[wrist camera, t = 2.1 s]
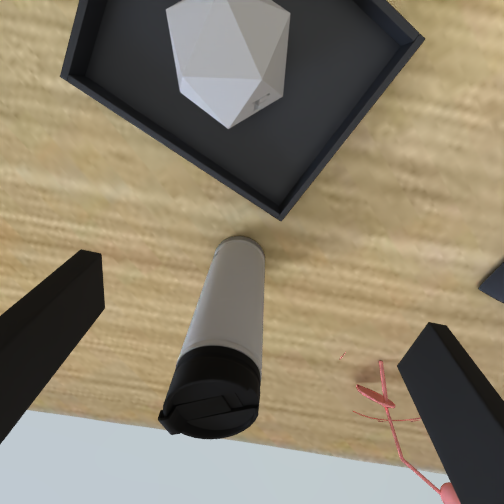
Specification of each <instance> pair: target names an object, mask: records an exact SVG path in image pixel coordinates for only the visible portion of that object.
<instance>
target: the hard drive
mask: <svg viewBox="0 0 504 504" xmlns="http://www.w3.org/2000/svg"><path fill="white" fill-rule="evenodd" d="M479 290H481V291H482V292H484V293H486V294H487V295H489V296H491V297H493V298H495V299H496V300H498V301H500V302H502V303H504V262H503V263H502V264H501V265H500V266H499V267H498V268H497V269H496V270H495V271H494V272H493V273H492V274H491V275H490V276H489V277H488V278H487V279H486V280H485V281H484V282H483V283H482V284H481V285H480V287H479Z"/></svg>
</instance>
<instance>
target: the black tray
mask: <svg viewBox="0 0 504 504" xmlns="http://www.w3.org/2000/svg"><path fill="white" fill-rule="evenodd" d="M180 1H182V0H79V4H78V8H77V12H76V16H75V20H74V24H73V28H72V32H71V35H70V39H69V43H68V47H67V51H66V55H65V59H64V63H63V67H62V71H61V75H60V77H61V78H63V79H64V80H66V81H68V82H69V83H70V84H72V85H74V86H75V87H77V88H78V89H80V90H81V91H83V92H84V93H86V94H87V95H89V96H90V97H92V98H93V99H95V100H96V101H98V102H99V103H101V104H103V105H104V106H106V107H107V108H109V109H110V110H112V111H113V112H115V113H116V114H118V115H119V116H121V117H122V118H124V119H125V120H127V121H128V122H130V123H131V124H133V125H135V126H136V127H138V128H139V129H141V130H142V131H144V132H145V133H147V134H148V135H150V136H151V137H153V138H154V139H156V140H157V141H159V142H160V143H162V144H164V145H165V146H167V147H168V148H170V149H171V150H173V151H174V152H176V153H177V154H179V155H180V156H182V157H183V158H185V159H186V160H188V161H189V162H191V163H193V164H194V165H196V166H197V167H199V168H200V169H202V170H203V171H205V172H206V173H208V174H209V175H211V176H212V177H214V178H215V179H217V180H218V181H220V182H222V183H223V184H225V185H226V186H228V187H229V188H231V189H232V190H234V191H235V192H237V193H238V194H240V195H241V196H243V197H244V198H246V199H247V200H249V201H251V202H252V203H254V204H255V205H257V206H258V207H260V208H261V209H263V210H264V211H266V212H267V213H269V214H270V215H272V216H273V217H275V218H277V219H278V220H279V221H282V220H283V219H284V217H285V216H286V215H287V214H288V212H289V211H290V210H291V209H292V207H293V206H294V205H295V204H296V202H297V201H298V200H299V199H300V197H301V196H302V195H303V193H304V192H305V191H306V190H307V188H308V187H309V186H310V185H311V183H312V182H313V181H314V180H315V178H316V177H317V176H318V174H319V173H320V172H321V171H322V169H323V168H324V167H325V166H326V164H327V163H328V162H329V161H330V159H331V158H332V157H333V155H334V154H335V153H336V152H337V150H338V149H339V148H340V147H341V145H342V144H343V143H344V142H345V140H346V139H347V138H348V136H349V135H350V134H351V133H352V131H353V130H354V129H355V128H356V126H357V125H358V124H359V123H360V121H361V120H362V119H363V117H364V116H365V115H366V114H367V112H368V111H369V110H370V109H371V107H372V106H373V105H374V104H375V102H376V101H377V100H378V98H379V97H380V96H381V95H382V93H383V92H384V91H385V90H386V88H387V87H388V86H389V85H390V83H391V82H392V81H393V80H394V78H395V77H396V76H397V74H398V73H399V72H400V71H401V69H402V68H403V67H404V66H405V64H406V63H407V62H408V61H409V59H410V58H411V57H412V55H413V54H414V53H415V52H416V50H417V49H418V48H419V47H420V45H421V44H422V43H423V42H424V40H425V38H424V37H423V36H422V35H421V34H419V32H418V31H417V30H416V29H415V28H414V27H413V26H412V25H411V24H410V23H409V22H408V21H407V20H406V19H405V18H404V17H403V16H402V15H401V14H400V13H399V12H398V11H396V10H395V9H394V8H393V7H392V6H391V5H390V4H389V3H388V2H387V1H386V0H272V1H273V2H275V3H276V4H278V5H279V6H281V7H282V8H284V9H285V10H286V11H288V12H289V13H290V23H289V35H288V46H287V57H286V68H285V79H284V90H283V97H281V98H279V99H278V100H276V101H274V102H273V103H271V104H269V105H268V106H266V107H264V108H263V109H261V110H259V111H258V112H256V113H254V114H253V115H251V116H249V117H248V118H246V119H244V120H243V121H241V122H239V123H238V124H236V125H234V126H233V127H231V128H229V129H228V128H226V127H225V126H224V125H222V124H221V123H220V122H218V121H217V120H216V119H214V118H213V117H212V116H211V115H209V114H208V113H207V112H205V111H204V110H203V109H201V108H200V107H199V106H198V105H196V104H195V103H194V102H192V101H191V100H190V99H188V98H187V97H186V96H184V95H183V94H182V93H181V92H180V89H179V83H178V77H177V71H176V66H175V60H174V54H173V48H172V43H171V37H170V31H169V25H168V20H167V14H166V9H167V8H169V7H171V6H173V5H175V4H176V3H178V2H180Z"/></svg>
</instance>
